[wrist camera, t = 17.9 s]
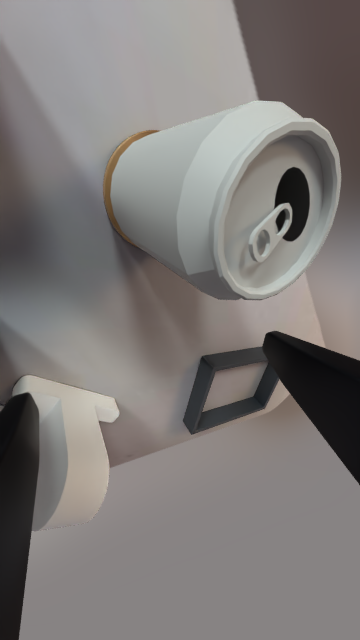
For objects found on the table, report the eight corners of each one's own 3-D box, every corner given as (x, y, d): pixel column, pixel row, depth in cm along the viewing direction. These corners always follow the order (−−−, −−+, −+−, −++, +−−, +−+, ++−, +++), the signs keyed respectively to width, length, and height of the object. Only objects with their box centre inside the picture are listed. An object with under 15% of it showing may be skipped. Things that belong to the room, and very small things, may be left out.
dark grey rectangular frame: (182, 420, 35) (191, 435, 33) (202, 355, 30) (213, 368, 28) (254, 398, 43) (264, 408, 41) (279, 343, 38) (292, 352, 36)
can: (213, 213, 20) (355, 246, 11) (146, 267, 20) (240, 346, 11) (173, 110, 15) (368, 24, 6) (82, 178, 15) (158, 187, 6)
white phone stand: (24, 373, 20) (19, 495, 12) (117, 398, 26) (151, 488, 19) (-12, 419, 20) (-37, 564, 13) (88, 433, 27) (110, 534, 19)
